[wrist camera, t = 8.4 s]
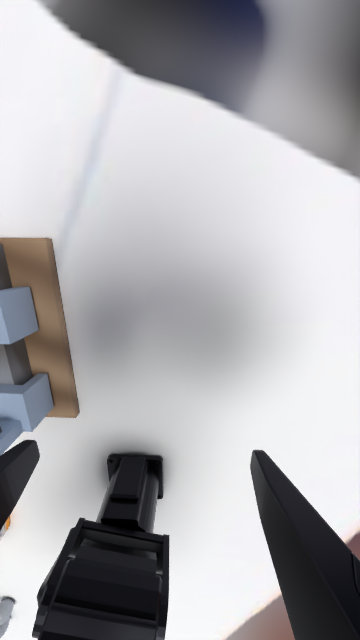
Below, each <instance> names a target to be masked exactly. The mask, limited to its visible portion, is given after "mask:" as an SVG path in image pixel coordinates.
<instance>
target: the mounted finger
mask: <svg viewBox="0 0 360 640" xmlns="http://www.w3.org/2000/svg"><path fill="white" fill-rule="evenodd" d="M53 407H54V405H53V400H52V395H51V390H50V385H49V380H48V375H47V373H38V374H36V375H35V376H34V377H33V378H31V379H30V380H29V381H28V382H26V383H25V384H24V385H3V384H0V456H1V455H2V454H3V453H4V451H5V450H6V449H7V448H8V447H9V446H10V445H11V444H12V443H13V442H14V441H15V440H16V439H17V438H18V437H19V435H20V434H21V433H22V432H23V431H26V432H32V431H33V430H34V429H35V428H36V427H37V426H38V424H39V423H40V422H41V421H42V420H43V419H44V418H45V416H46V415H47V414H48V413H49V412H50V411H51V410H52V409H53Z"/></svg>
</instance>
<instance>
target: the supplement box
mask: <svg viewBox="0 0 360 640" xmlns="http://www.w3.org/2000/svg"><path fill="white" fill-rule="evenodd" d="M9 526H10V516H9V517H8V519H7V521H6V522H5V524H4V526H3V527H2V529H1V531H0V540H1V538H2V537H3V535H4V534H5V532H6V530H7V529H8V527H9Z"/></svg>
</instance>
